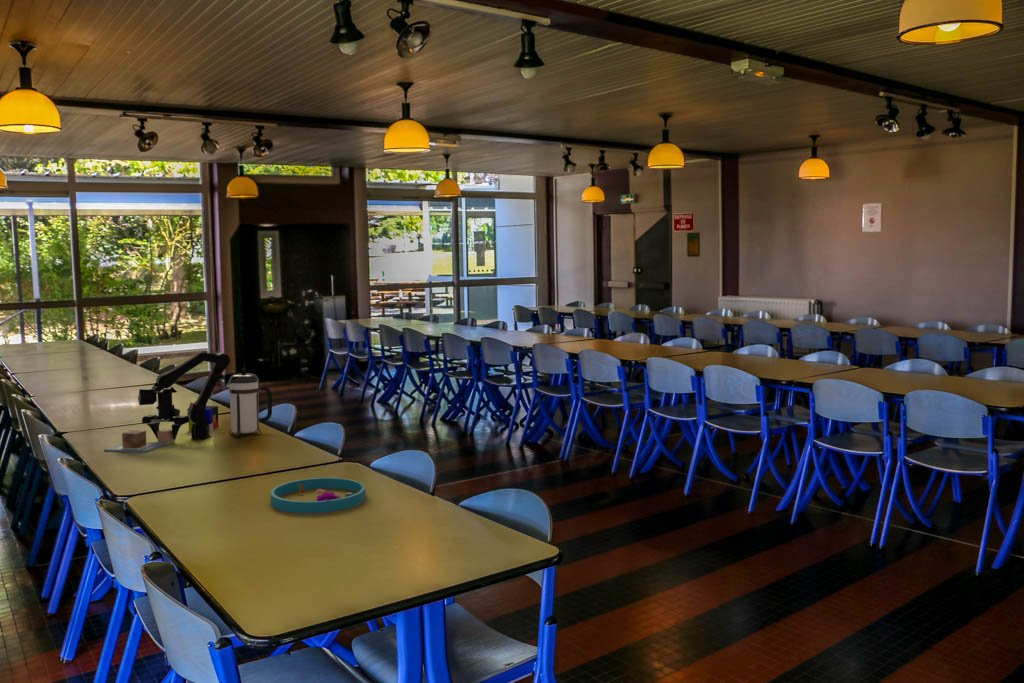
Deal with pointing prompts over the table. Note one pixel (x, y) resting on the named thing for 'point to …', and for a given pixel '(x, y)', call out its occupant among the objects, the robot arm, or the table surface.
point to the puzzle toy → (209, 417)
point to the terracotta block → (165, 436)
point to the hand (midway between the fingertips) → (166, 439)
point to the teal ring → (325, 500)
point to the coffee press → (246, 403)
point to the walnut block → (134, 439)
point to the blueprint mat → (143, 449)
